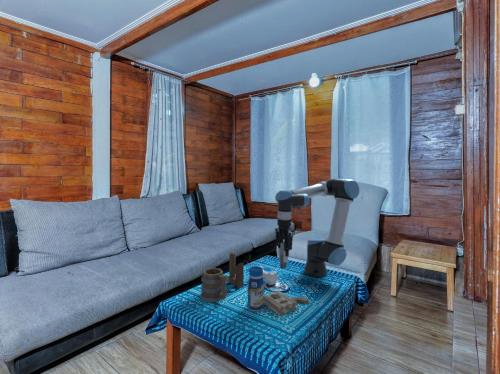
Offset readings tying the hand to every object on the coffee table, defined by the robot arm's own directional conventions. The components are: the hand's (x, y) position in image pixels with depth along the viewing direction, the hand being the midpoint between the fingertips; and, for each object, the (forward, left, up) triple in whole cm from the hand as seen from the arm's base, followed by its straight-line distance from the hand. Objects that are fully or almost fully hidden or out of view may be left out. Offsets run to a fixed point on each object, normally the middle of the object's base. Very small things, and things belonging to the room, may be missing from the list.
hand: (283, 260), depth 151 cm
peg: (0, 0, -4) cm, 4 cm away
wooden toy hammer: (+16, -24, -19) cm, 35 cm away
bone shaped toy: (-1, -18, -19) cm, 27 cm away
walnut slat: (-2, +12, -19) cm, 23 cm away
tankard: (+34, -13, -19) cm, 41 cm away
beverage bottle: (+22, +5, -19) cm, 29 cm away
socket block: (+10, +10, -19) cm, 23 cm away
